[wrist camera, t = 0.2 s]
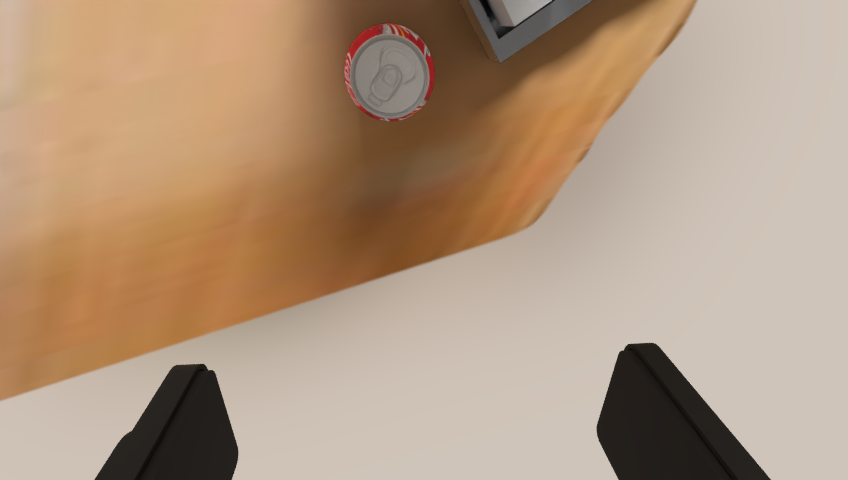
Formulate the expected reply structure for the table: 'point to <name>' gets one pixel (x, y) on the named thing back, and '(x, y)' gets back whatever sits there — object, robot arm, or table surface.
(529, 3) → the grey key
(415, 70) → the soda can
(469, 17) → the console
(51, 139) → the table surface
